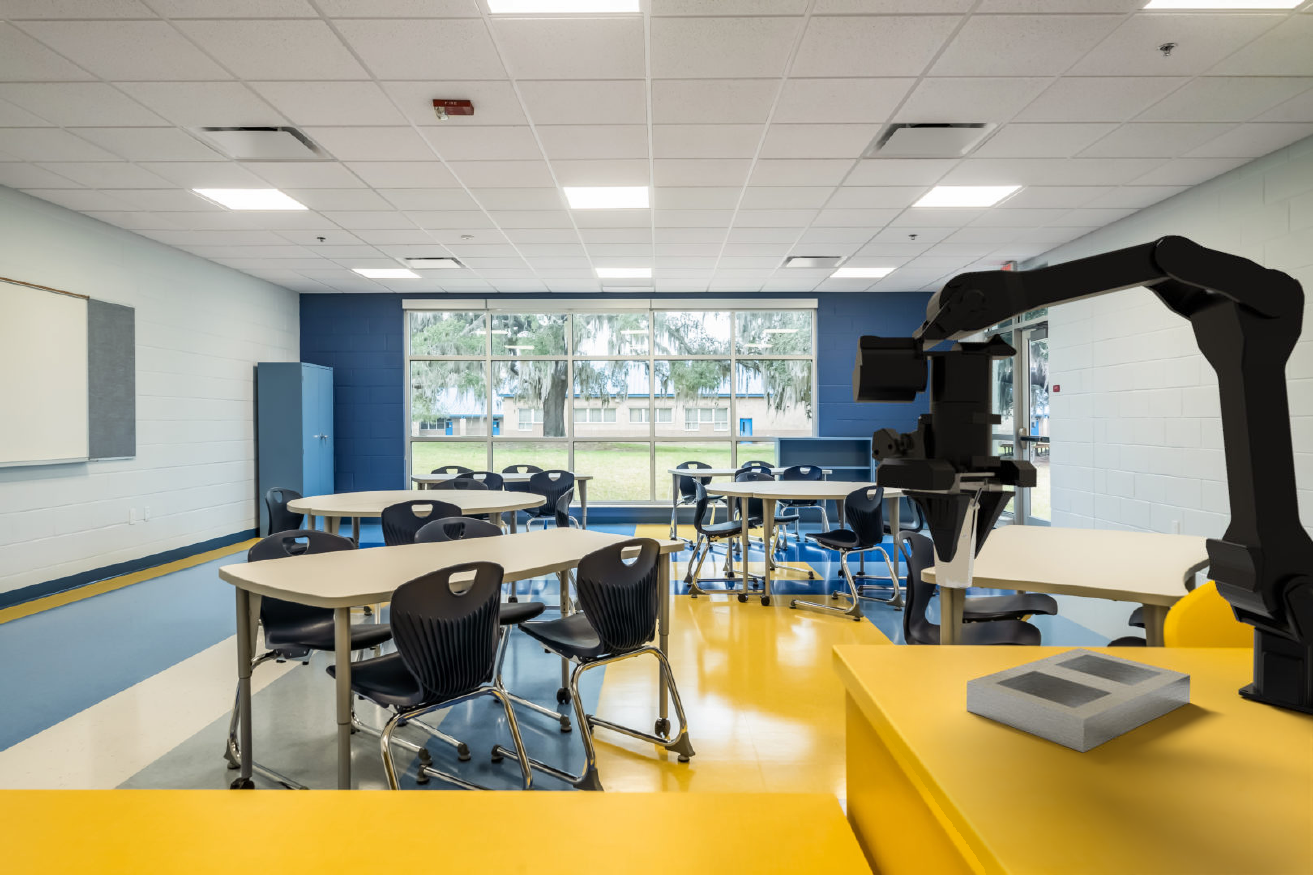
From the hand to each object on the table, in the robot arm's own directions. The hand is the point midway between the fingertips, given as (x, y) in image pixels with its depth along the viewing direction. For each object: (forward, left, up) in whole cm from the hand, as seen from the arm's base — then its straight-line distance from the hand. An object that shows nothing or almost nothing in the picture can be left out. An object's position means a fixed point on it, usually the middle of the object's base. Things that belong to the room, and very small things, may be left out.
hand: (957, 560), depth 68 cm
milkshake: (0, 0, -3) cm, 3 cm away
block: (-3, +10, -12) cm, 16 cm away
